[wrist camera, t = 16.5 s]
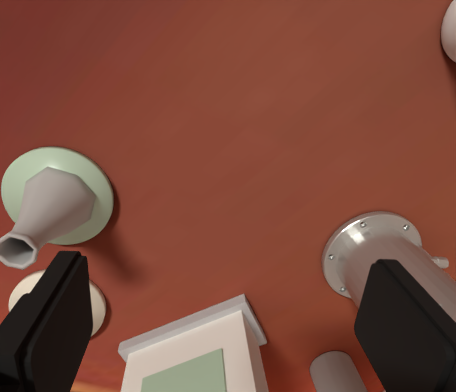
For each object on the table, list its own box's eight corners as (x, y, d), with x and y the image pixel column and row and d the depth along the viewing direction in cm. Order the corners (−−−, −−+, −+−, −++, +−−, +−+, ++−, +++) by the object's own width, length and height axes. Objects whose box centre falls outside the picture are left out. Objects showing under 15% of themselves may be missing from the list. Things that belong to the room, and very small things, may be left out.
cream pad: (105, 271, 41) (103, 276, 41) (106, 339, 46) (105, 345, 45) (7, 266, 40) (3, 271, 39) (18, 337, 44) (14, 343, 43)
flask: (73, 241, 38) (37, 303, 29) (10, 206, 36) (-52, 261, 27) (109, 193, 36) (81, 243, 27) (44, 153, 34) (-10, 193, 25)
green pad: (114, 151, 36) (111, 154, 35) (114, 242, 40) (112, 247, 39) (-1, 141, 34) (-6, 143, 33) (12, 236, 39) (8, 241, 38)
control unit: (120, 342, 46) (92, 456, 34) (244, 293, 45) (264, 393, 32) (148, 379, 50) (133, 496, 37) (265, 334, 48) (291, 439, 35)
